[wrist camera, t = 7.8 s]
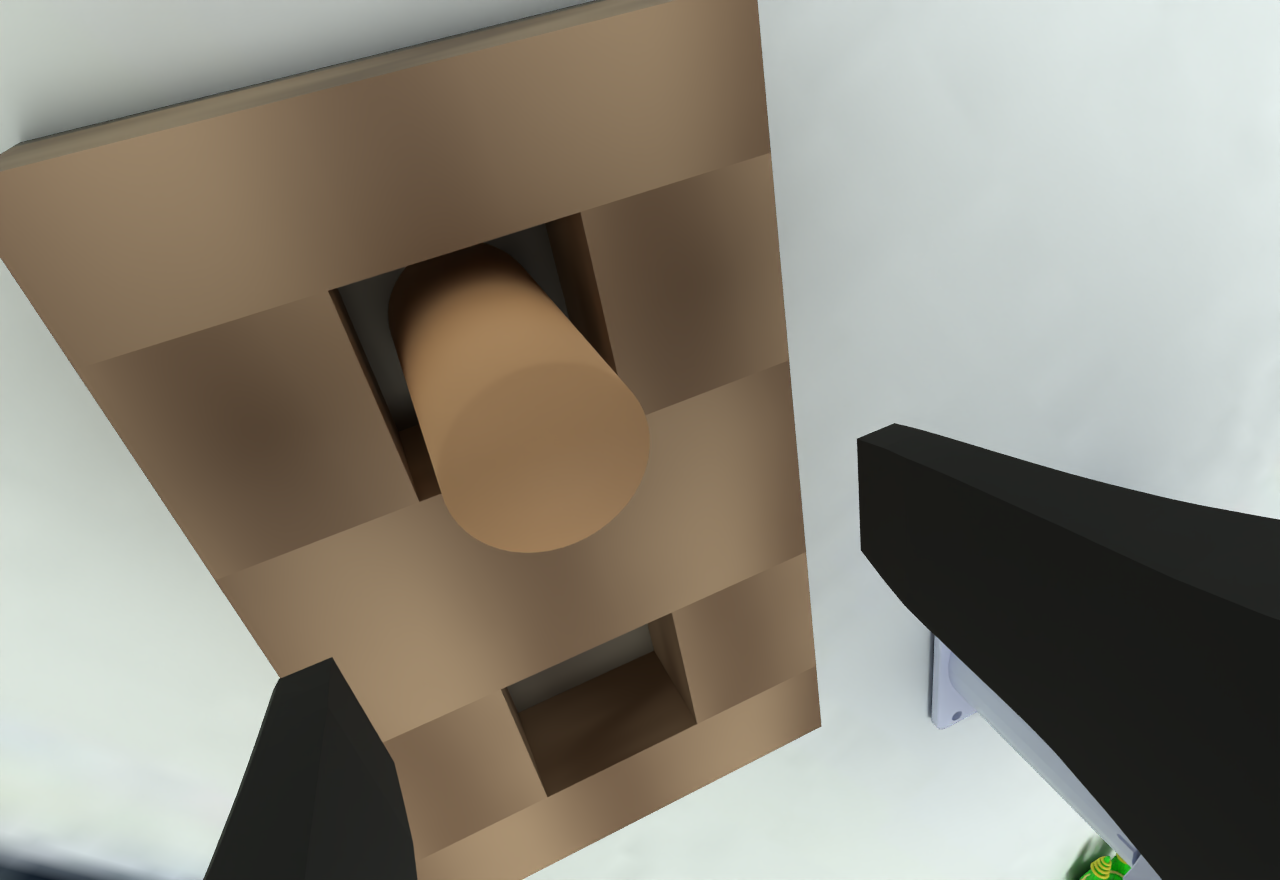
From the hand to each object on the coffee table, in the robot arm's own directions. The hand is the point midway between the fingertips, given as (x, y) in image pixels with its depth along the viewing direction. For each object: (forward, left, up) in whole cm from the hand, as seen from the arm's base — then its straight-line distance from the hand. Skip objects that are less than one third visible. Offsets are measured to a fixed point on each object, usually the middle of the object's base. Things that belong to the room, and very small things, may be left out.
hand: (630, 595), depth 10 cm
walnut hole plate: (0, +4, -9) cm, 10 cm away
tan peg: (0, -1, -9) cm, 9 cm away
